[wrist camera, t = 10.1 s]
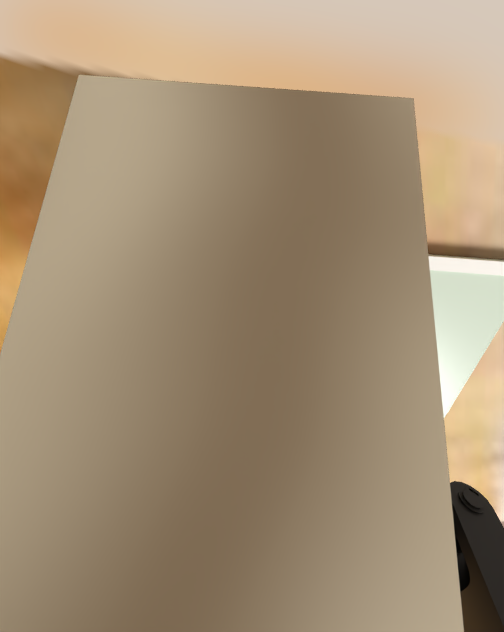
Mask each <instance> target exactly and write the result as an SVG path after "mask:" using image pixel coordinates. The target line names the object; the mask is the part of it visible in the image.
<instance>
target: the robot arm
mask: <svg viewBox="0 0 504 632" xmlns="http://www.w3.org/2000/svg"><path fill="white" fill-rule="evenodd" d="M450 489H451V500H452V510H453V521H454V531H455V542H456V552H457V563H458V574H459V584H460V595H461V605H462V616H463V626H464V632H504V528H503V526H502V524H501V522H500V520H499V518H498V516H497V515H496V513H495V511H494V509H493V507H492V506H491V505H490V503H489V502H488V500H487V499H486V498H485V497H484V496H483V495H482V494H481V493H480V492H478V491H477V490H475V489H474V488H472V487H471V486H469V485H467V484H465V483H462V482H456V481H454V482H452V483H450Z"/></svg>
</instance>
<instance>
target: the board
mask: <svg viewBox="0 0 504 632" xmlns="http://www.w3.org/2000/svg"><path fill="white" fill-rule="evenodd" d="M428 256H429V267H430V277H431V288H432V299H433V309H434V320H435V330H436V341H437V351H438V362H439V373H440V383H441V394H442V404H443V415H444V417H445V416H446V414H447V413H448V411H449V409H450V408H451V406H452V404H453V403H454V401H455V400H456V398H457V396H458V395H459V393H460V391H461V390H462V388H463V387H464V385H465V383H466V382H467V380H468V378H469V377H470V375H471V373H472V372H473V370H474V369H475V367H476V365H477V364H478V362H479V360H480V359H481V357H482V356H483V354H484V352H485V351H486V349H487V347H488V346H489V344H490V343H491V341H492V339H493V338H494V336H495V334H496V333H497V331H498V330H499V328H500V326H501V325H502V323H503V321H504V260H499V259H486V258H473V257H459V256H446V255H433V254H428Z"/></svg>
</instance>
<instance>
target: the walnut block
mask: <svg viewBox="0 0 504 632" xmlns="http://www.w3.org/2000/svg"><path fill="white" fill-rule="evenodd" d="M0 632H464V626H463V616H462V605H461V595H460V584H459V574H458V563H457V552H456V542H455V531H454V521H453V510H452V500H451V489H450V478H449V468H448V457H447V447H446V436H445V425H444V415H443V404H442V394H441V383H440V373H439V362H438V351H437V341H436V330H435V320H434V309H433V299H432V288H431V277H430V267H429V256H428V246H427V235H426V225H425V214H424V203H423V193H422V182H421V172H420V161H419V151H418V140H417V129H416V120H415V110H414V99H413V98H401V97H386V96H372V95H359V94H345V93H330V92H317V91H303V90H302V91H301V90H288V89H274V88H260V87H244V86H232V85H231V86H230V85H218V84H203V83H189V82H175V81H161V80H147V79H133V78H119V77H105V76H90V75H79V76H78V80H77V83H76V87H75V90H74V94H73V97H72V101H71V104H70V108H69V112H68V115H67V119H66V122H65V126H64V129H63V133H62V137H61V140H60V144H59V147H58V151H57V154H56V158H55V161H54V165H53V169H52V172H51V176H50V179H49V183H48V186H47V190H46V193H45V197H44V201H43V204H42V208H41V211H40V215H39V218H38V222H37V225H36V229H35V233H34V236H33V240H32V243H31V247H30V250H29V254H28V257H27V261H26V265H25V268H24V272H23V275H22V279H21V282H20V286H19V289H18V293H17V297H16V300H15V304H14V307H13V311H12V314H11V318H10V321H9V325H8V329H7V332H6V336H5V339H4V343H3V346H2V350H1V353H0Z"/></svg>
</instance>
